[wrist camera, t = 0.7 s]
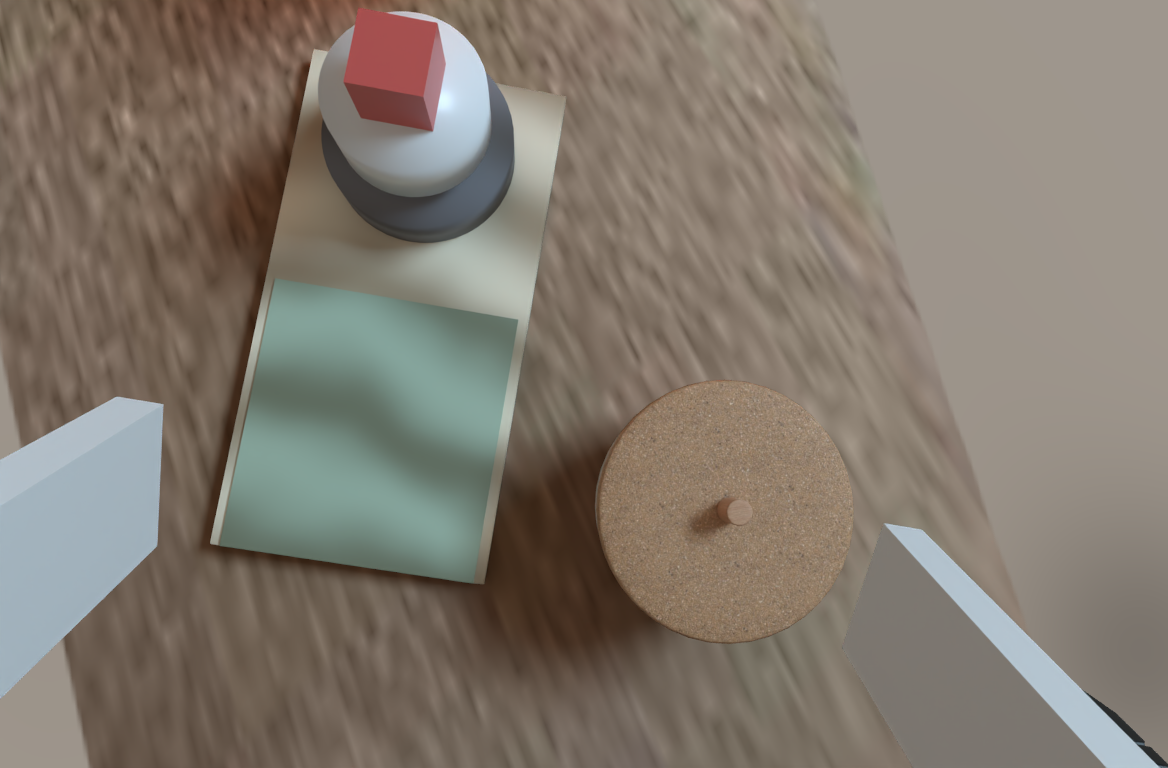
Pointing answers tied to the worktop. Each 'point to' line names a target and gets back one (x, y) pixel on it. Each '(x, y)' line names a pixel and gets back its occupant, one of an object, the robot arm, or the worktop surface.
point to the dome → (406, 102)
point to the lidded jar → (724, 511)
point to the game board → (390, 354)
